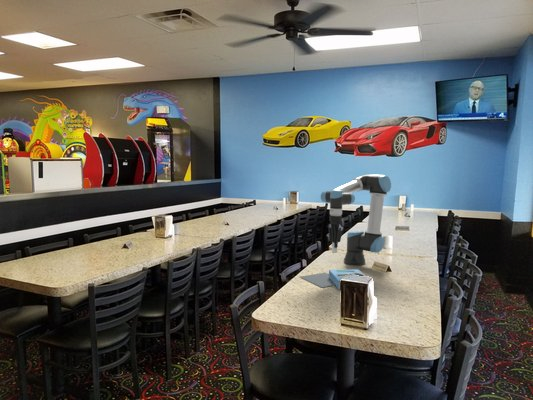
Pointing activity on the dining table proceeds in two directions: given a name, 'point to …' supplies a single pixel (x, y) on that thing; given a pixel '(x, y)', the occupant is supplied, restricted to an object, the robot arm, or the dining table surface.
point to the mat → (319, 279)
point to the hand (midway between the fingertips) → (334, 252)
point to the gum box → (342, 275)
